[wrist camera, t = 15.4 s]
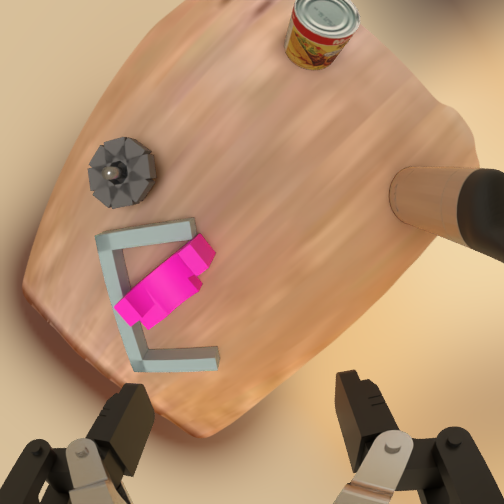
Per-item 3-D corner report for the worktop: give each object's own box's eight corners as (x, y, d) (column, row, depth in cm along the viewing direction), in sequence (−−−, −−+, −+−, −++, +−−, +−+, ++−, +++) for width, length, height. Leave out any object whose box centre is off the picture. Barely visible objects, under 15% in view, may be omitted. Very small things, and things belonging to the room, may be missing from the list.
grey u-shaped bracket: (194, 217, 43) (189, 221, 39) (219, 358, 49) (217, 370, 45) (105, 231, 43) (94, 235, 40) (139, 361, 49) (133, 371, 46)
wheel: (151, 133, 36) (144, 131, 33) (159, 199, 38) (153, 201, 35) (94, 148, 36) (85, 147, 34) (102, 210, 38) (94, 212, 36)
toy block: (156, 317, 47) (142, 339, 40) (131, 288, 46) (113, 307, 38) (226, 265, 45) (221, 282, 37) (200, 232, 43) (189, 243, 36)
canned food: (332, 76, 37) (357, 46, 26) (280, 63, 37) (289, 27, 25) (338, 35, 35) (362, -1, 24) (288, 23, 35) (299, -19, 23)
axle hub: (147, 155, 40) (121, 151, 31) (151, 184, 41) (125, 187, 32) (121, 161, 40) (90, 159, 31) (124, 189, 41) (94, 194, 32)
